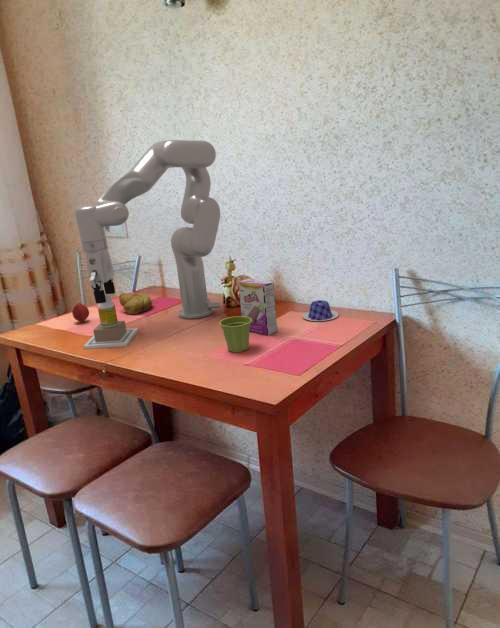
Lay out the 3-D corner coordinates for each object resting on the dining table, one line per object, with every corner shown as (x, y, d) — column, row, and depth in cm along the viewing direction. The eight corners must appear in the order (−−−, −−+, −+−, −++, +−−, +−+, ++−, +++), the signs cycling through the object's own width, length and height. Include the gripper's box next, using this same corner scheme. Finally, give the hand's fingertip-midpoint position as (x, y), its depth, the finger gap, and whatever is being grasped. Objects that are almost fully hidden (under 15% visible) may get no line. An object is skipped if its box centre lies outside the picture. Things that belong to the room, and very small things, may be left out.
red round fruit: (80, 325, 186) (76, 304, 183) (71, 323, 189) (67, 303, 187) (93, 320, 190) (89, 300, 188) (84, 319, 193) (80, 298, 191)
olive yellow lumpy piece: (147, 304, 205) (144, 285, 203) (160, 308, 198) (157, 288, 196) (119, 313, 197) (115, 293, 195) (131, 317, 190) (128, 296, 188)
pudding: (344, 318, 167) (344, 303, 166) (311, 325, 164) (310, 310, 162) (328, 309, 178) (327, 295, 176) (296, 315, 175) (296, 301, 173)
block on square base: (138, 331, 174) (135, 317, 172) (126, 346, 160) (124, 331, 159) (98, 334, 175) (95, 320, 173) (83, 349, 161) (80, 334, 160)
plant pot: (223, 344, 154) (220, 317, 151) (254, 341, 154) (252, 314, 151) (221, 356, 145) (218, 327, 142) (254, 353, 145) (251, 324, 142)
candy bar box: (241, 330, 164) (236, 281, 159) (252, 326, 168) (247, 277, 163) (268, 336, 157) (263, 285, 152) (278, 331, 160) (274, 281, 155)
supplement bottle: (109, 328, 162) (103, 299, 159) (97, 327, 165) (92, 298, 162) (121, 323, 167) (116, 295, 164) (110, 321, 170) (105, 293, 167)
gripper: (97, 250, 150) (109, 305, 155) (114, 239, 166) (124, 289, 171) (73, 252, 150) (85, 307, 156) (92, 241, 167) (103, 291, 172)
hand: (106, 298), depth 164 cm, fingers open, 9 cm apart
